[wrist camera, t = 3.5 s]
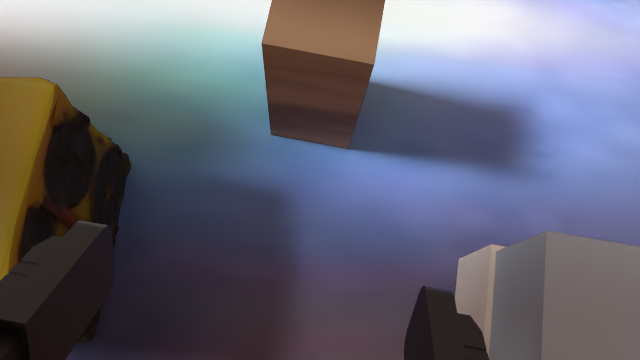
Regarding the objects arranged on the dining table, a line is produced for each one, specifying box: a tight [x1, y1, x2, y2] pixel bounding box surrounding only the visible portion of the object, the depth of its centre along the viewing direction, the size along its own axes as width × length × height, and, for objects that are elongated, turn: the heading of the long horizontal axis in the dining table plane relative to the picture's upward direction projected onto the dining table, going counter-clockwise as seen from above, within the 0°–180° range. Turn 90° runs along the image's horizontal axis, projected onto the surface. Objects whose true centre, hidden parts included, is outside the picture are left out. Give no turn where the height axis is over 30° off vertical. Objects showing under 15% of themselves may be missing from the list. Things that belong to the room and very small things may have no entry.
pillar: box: [262, 0, 385, 149], centre depth 26 cm, size 4×4×10 cm
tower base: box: [455, 244, 505, 357], centre depth 26 cm, size 6×6×5 cm
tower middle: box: [489, 231, 640, 360], centre depth 21 cm, size 6×6×5 cm
